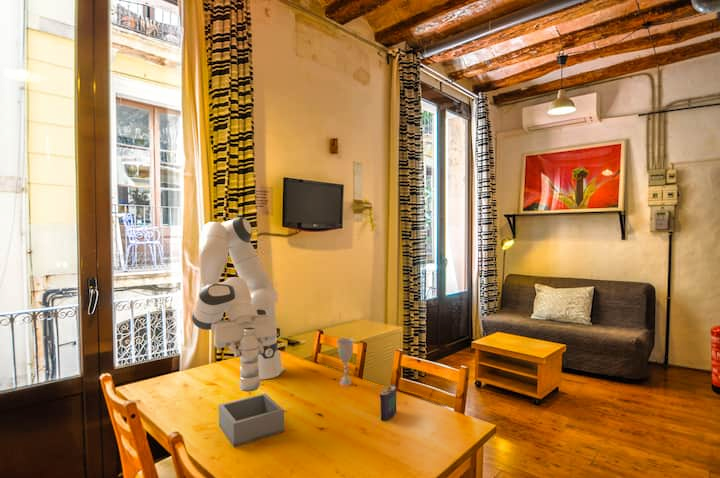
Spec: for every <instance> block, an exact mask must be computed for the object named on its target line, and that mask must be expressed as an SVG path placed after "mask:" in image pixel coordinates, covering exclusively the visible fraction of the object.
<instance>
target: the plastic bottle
mask: <svg viewBox="0 0 720 478" xmlns="http://www.w3.org/2000/svg"><path fill="white" fill-rule="evenodd" d="M243 335H244V337H243V338H242V339H241V341H240V343H239V345H238V350H240V357H239V358H240V366H241V371H240V375H239V380H238V384H239V388H240V390H241V391H242V392H245V393H246V392H255V391H257V390H258V389H259V388H260V387H261V380H260V375H259V369H258V355H259V347H260V344H259V341H258V339H257V338H256V337H255V328H253V327H248V328H244V329H243Z"/></svg>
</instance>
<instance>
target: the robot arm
mask: <svg viewBox="0 0 720 478" xmlns="http://www.w3.org/2000/svg"><path fill="white" fill-rule="evenodd" d="M252 235H253V228H252V226H251V223H250V222H249V220H247V218H245V217H243V216H238V217H233V219H230V220H227V221H224V222H220V221H219V222H218V221H209V222H208V223H206V224H204V226H203V227H202V230H201V232H200V234H199V240H198V262H199V275H200V282H199V285H200V286H199V292H198V293H199V294H198V297H197V299H196V304H195V306H194V311H193V312H192V317H191V321H192V323H193V324H194V326H196V327H197V328H198V329H200V330H206V331H208V330H209V331H211V332H212V333H213V346H214V348H216V349H222V348H228V347H229V350H230V351H231V352H232V353H233V355H234V358H240V350H239V349H238V348H236V346H239V343H240V341H241V339H242V338H243V337H244V335H243V329H244V328H248V327H253V328H255V337H256V338H257V339H258V341H259V344H260V347H259V355H258V369H259V375H260V381H261V380H269V379H273V378H276V377H278V376H279V375H281V374H282V373H283V372H284V371H285V367H283V366H282V358H281V357H282V355H281V353H280V351H278V350H279V349H278V348H279V345H278V344H279V343H278V339H277V335H278V331H277V322H276V321H277V320H276V314H275V313H276V312H275V306H276V304H277V303H278V299H279V297H278V296H279V295H278V291H277V290H276V287H274V285H273V283H272V281H271V279H270V278H269V276H268V275H267V273H266V271H265V269H264V267H263V265H262V261H261V260H260V257H259V255H258V254H257V251H256V249H255V248H254V246H253V244H252V242H251V238H252ZM228 256H229V257H230V259H231V261H232V264H233V268H234V270H235V271H236V273H237V275H238V276H233V277H232V276H231V277H227V278H226V279H225V280H224V281H222V282H220V280H221V276H222V273H223V271H224V269H225V266H226V264H227V262H228V261H227V260H228ZM224 313H226V314H227V317H228V318H227V319H224V320H223V315H224ZM239 370H240V372H241V365H240V367H239Z"/></svg>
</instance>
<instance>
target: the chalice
mask: <svg viewBox="0 0 720 478" xmlns="http://www.w3.org/2000/svg"><path fill="white" fill-rule="evenodd" d="M354 341H355V340H354V338H350V337H343V338H338V339H337V340H336V342H337V350H338V351H337V353H338V355H339V358H340V360H341V362H342V363H343V364H344V365H343V368H344V371H343V373H344V375H343V376H341V379H340V382H339V384H340V385H341V386H350V385H352V384H353V383H352V380H351V378H350V376H348V365H347V363H349V362H350V361H351V360H350V359H351V357H352V355H353V351H354V350H353V348H354V346H353V343H354Z"/></svg>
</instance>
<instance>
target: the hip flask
mask: <svg viewBox="0 0 720 478" xmlns="http://www.w3.org/2000/svg"><path fill="white" fill-rule="evenodd" d="M386 386H387V387H386V390H384V391H381V392H380V394H379V399H380V402H379V403H380V421H381V422H388V421H389V420H391V419H393V418H394V416H395V415H396V414H397V386H394V385H390V384H387V385H386Z"/></svg>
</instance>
